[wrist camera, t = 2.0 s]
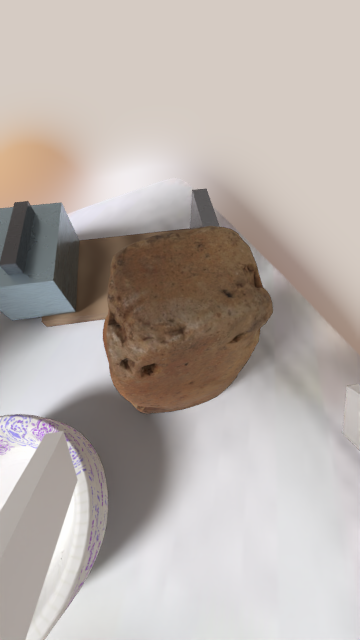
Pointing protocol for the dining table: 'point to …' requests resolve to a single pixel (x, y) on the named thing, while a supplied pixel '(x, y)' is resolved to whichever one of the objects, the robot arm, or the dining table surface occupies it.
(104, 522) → the white floral bowl
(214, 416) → the dining table surface
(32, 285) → the block
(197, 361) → the block
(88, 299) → the vise base
